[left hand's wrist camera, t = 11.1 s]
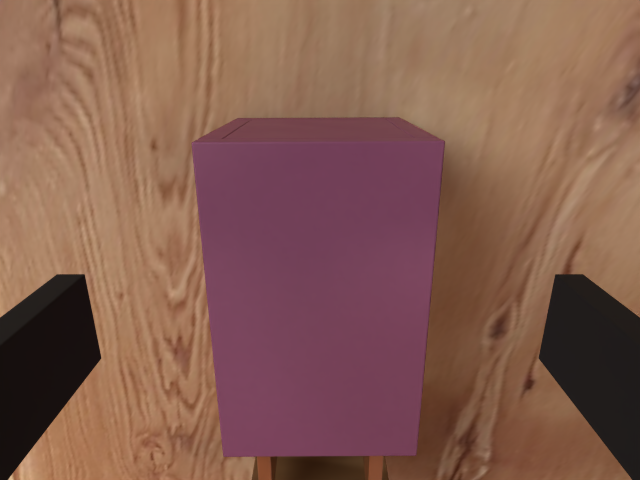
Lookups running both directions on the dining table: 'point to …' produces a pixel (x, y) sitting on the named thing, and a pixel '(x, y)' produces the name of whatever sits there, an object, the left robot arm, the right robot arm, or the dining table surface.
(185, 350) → the dining table surface
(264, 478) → the drawer
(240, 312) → the cabinet
